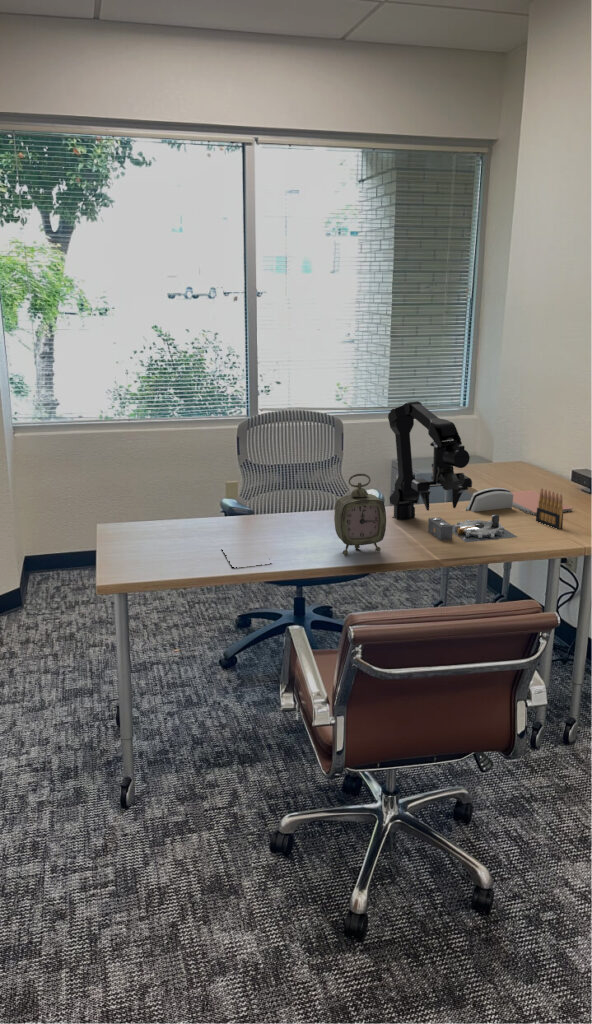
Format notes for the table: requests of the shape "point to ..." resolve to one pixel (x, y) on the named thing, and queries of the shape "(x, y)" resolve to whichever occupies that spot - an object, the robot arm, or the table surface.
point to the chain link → (440, 528)
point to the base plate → (473, 538)
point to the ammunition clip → (550, 509)
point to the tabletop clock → (360, 517)
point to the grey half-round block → (490, 499)
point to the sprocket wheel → (480, 527)
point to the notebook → (530, 501)
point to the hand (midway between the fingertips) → (441, 509)
